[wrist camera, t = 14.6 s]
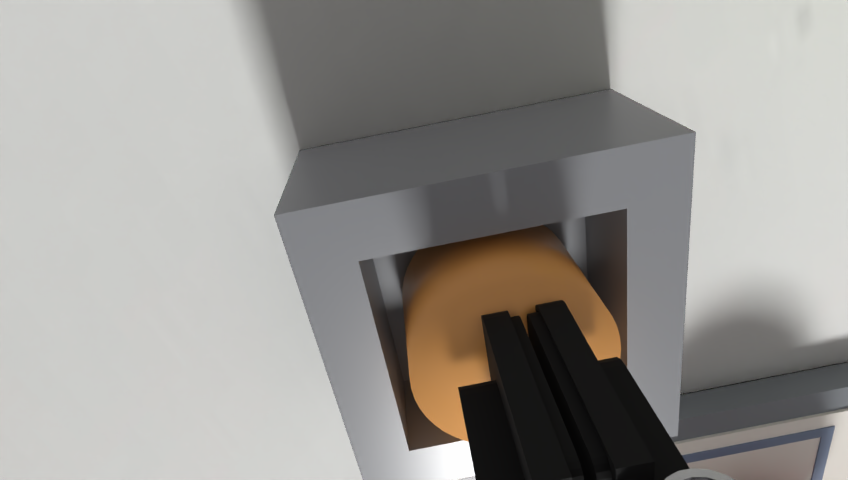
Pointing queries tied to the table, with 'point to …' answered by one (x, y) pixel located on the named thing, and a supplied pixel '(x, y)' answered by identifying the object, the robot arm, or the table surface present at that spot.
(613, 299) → the button housing
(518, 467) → the robot arm
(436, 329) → the button
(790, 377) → the picture frame
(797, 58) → the table surface
